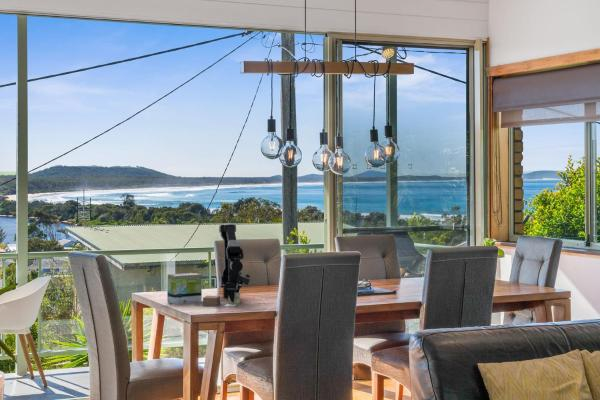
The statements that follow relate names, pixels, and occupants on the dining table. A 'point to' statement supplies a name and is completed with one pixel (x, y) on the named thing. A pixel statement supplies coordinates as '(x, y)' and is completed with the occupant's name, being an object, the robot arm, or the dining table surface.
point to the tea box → (184, 288)
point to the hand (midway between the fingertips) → (234, 300)
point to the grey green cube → (235, 299)
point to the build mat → (222, 304)
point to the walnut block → (211, 300)
